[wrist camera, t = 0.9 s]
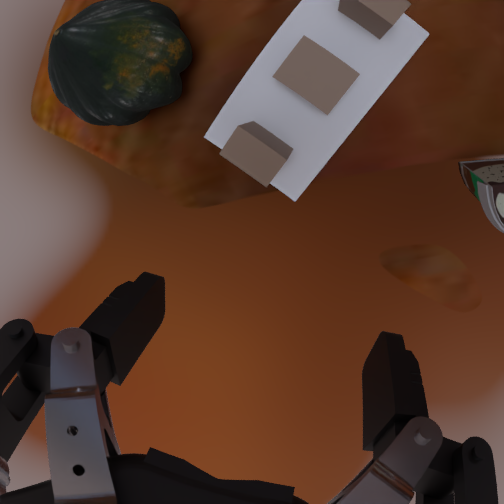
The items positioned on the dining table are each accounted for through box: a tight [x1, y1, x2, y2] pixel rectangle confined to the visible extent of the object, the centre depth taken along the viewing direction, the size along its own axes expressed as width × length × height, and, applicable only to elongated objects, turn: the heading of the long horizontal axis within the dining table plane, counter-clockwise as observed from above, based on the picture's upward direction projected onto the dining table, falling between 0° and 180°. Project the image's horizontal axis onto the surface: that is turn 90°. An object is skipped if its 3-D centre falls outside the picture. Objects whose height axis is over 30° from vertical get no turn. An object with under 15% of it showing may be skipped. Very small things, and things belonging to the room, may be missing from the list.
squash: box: [48, 0, 193, 126], centre depth 26 cm, size 14×15×15 cm
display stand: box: [204, 0, 429, 201], centre depth 25 cm, size 24×12×8 cm, turn 146°
